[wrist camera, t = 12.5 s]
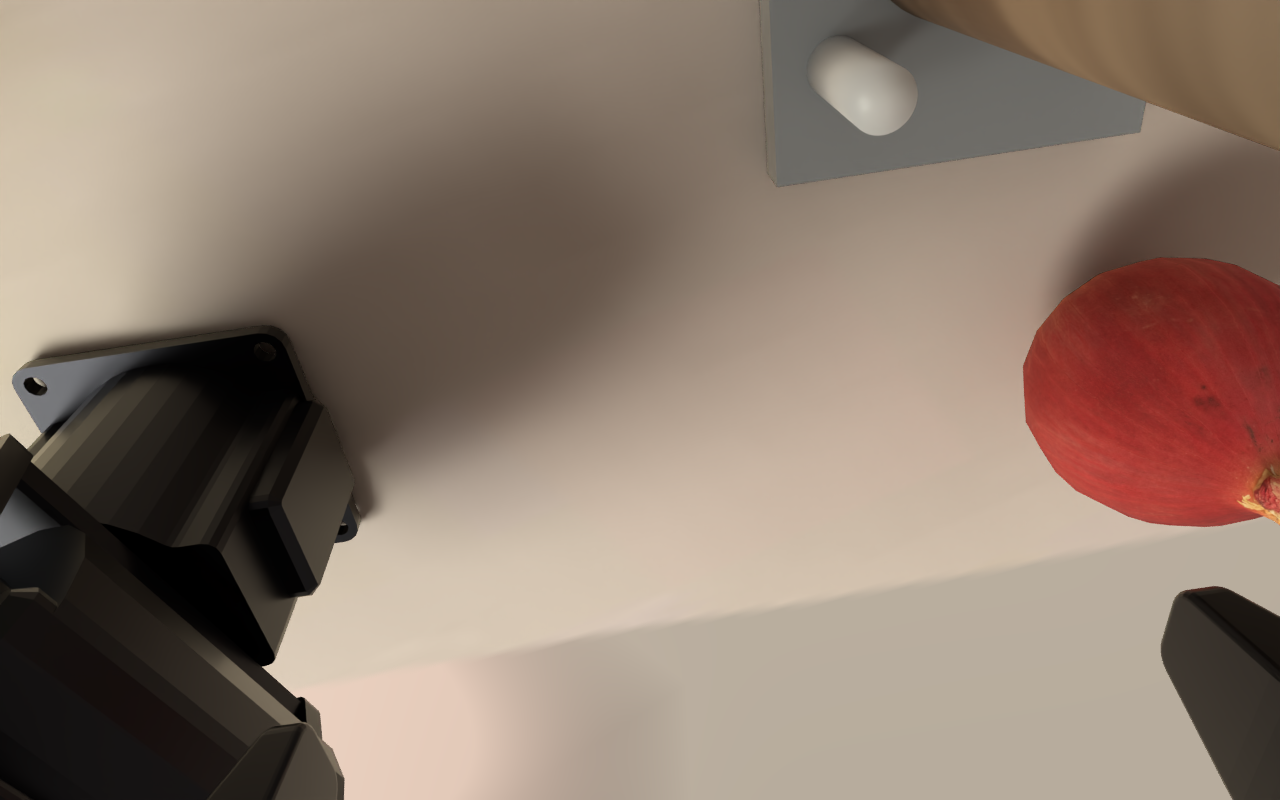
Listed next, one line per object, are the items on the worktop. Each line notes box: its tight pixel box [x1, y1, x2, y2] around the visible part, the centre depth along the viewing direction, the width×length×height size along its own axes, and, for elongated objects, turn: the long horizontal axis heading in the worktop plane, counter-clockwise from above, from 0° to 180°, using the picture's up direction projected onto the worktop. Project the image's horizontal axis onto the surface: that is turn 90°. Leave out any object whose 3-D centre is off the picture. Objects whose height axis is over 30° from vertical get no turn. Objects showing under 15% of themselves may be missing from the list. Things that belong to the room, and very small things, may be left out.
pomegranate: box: [1023, 257, 1280, 527], centre depth 19 cm, size 6×6×8 cm
